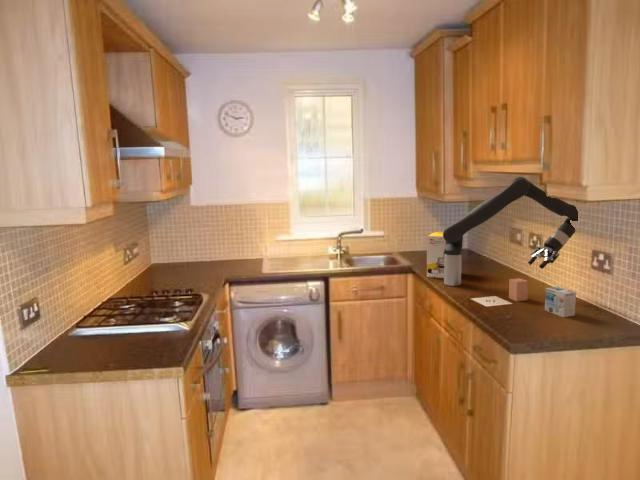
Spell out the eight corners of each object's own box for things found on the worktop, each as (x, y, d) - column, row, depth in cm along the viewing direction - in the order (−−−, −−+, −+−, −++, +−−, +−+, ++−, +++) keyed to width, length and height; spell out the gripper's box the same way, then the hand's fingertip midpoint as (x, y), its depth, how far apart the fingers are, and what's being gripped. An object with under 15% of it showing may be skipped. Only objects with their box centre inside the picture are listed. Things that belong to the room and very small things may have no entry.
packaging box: (459, 273, 287) (459, 233, 283) (454, 279, 273) (454, 236, 269) (433, 271, 295) (433, 232, 291) (426, 276, 280) (426, 235, 276)
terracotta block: (508, 299, 230) (509, 279, 228) (519, 297, 231) (520, 278, 230) (516, 302, 224) (517, 282, 223) (527, 301, 225) (528, 281, 224)
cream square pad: (470, 299, 231) (470, 298, 231) (495, 296, 234) (495, 295, 234) (486, 307, 218) (486, 306, 217) (512, 304, 221) (512, 303, 220)
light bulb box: (544, 310, 210) (545, 287, 208) (555, 308, 212) (556, 285, 211) (563, 317, 200) (565, 293, 199) (575, 315, 203) (576, 291, 201)
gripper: (542, 234, 236) (521, 257, 235) (562, 238, 222) (540, 263, 222) (550, 244, 238) (529, 267, 237) (571, 249, 224) (548, 273, 224)
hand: (534, 265), depth 230 cm, fingers open, 8 cm apart
